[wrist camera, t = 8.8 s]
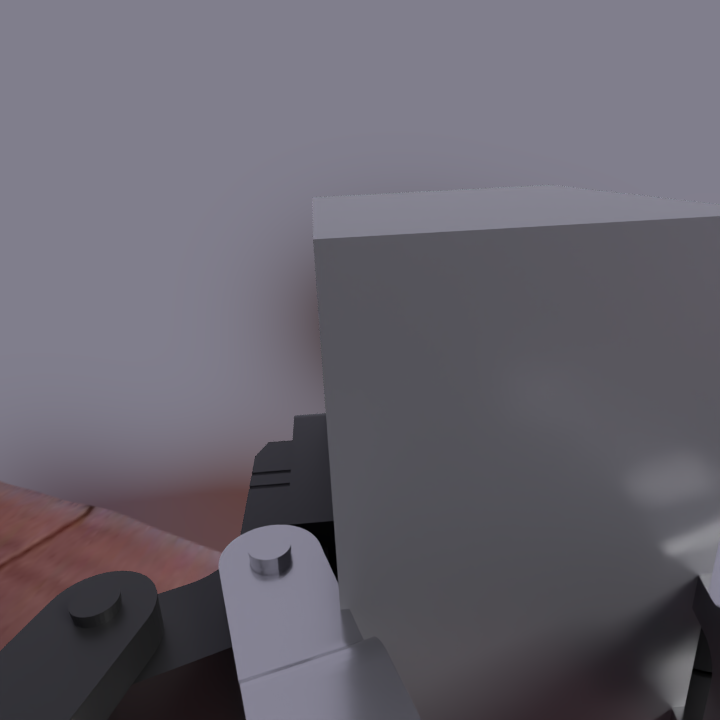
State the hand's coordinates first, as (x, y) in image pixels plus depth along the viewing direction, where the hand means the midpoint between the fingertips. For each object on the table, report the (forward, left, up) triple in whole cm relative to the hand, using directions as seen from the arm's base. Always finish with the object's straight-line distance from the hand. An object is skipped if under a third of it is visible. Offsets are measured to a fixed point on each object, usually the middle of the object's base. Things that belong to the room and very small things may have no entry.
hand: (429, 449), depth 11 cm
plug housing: (+2, -2, -7) cm, 8 cm away
